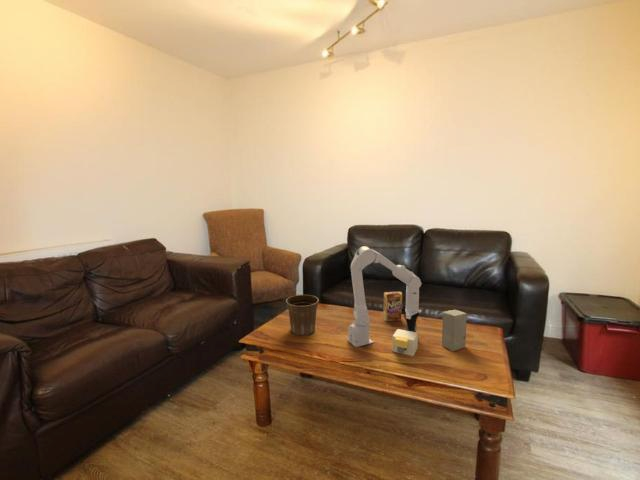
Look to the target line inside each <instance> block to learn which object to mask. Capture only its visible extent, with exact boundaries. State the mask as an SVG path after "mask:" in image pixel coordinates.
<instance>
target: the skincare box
mask: <svg viewBox="0 0 640 480" xmlns="http://www.w3.org/2000/svg"><path fill="white" fill-rule="evenodd" d="M441 327H442V328H441V330H442V333H441V334H442V336H441V345H442V347H444V348H447V349H449V350H450V351H452V352H455V351H458V350H460V349H464V348H466V341H467V340H466V339H467V337H466V336H467V312H464V311H461V310H458V309H452V310H450V309H449V310H446V311H443V312H442V325H441Z"/></svg>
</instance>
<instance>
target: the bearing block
mask: <svg viewBox="0 0 640 480" xmlns="http://www.w3.org/2000/svg"><path fill="white" fill-rule="evenodd" d="M397 336H401V337H405V338H409V345H408V347H407V349H406V350H405V352H404V353H401V354H402V355H406V356H407V355H408V356H412V357H414V356H415V354H416V352H417V349H418V346H419V345H418V344H419V343H418V342H419V341H418V340H419V332H417V331H416V332H411V331H406V329H399V328H397V329H396V330H395V332H394V334H393V335H392V344H391V345H392V347H391V348H392V350H391V351H392V352H394V353H397V354H400V353H399V352H397V348H398V347H397V346H395V338H396V337H397Z"/></svg>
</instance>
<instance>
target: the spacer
mask: <svg viewBox="0 0 640 480" xmlns="http://www.w3.org/2000/svg"><path fill="white" fill-rule="evenodd" d="M408 345H409V338H405V337H401V336H397V337H396V338H395V346H397V347H402V348H406V349H407V347H408Z"/></svg>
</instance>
